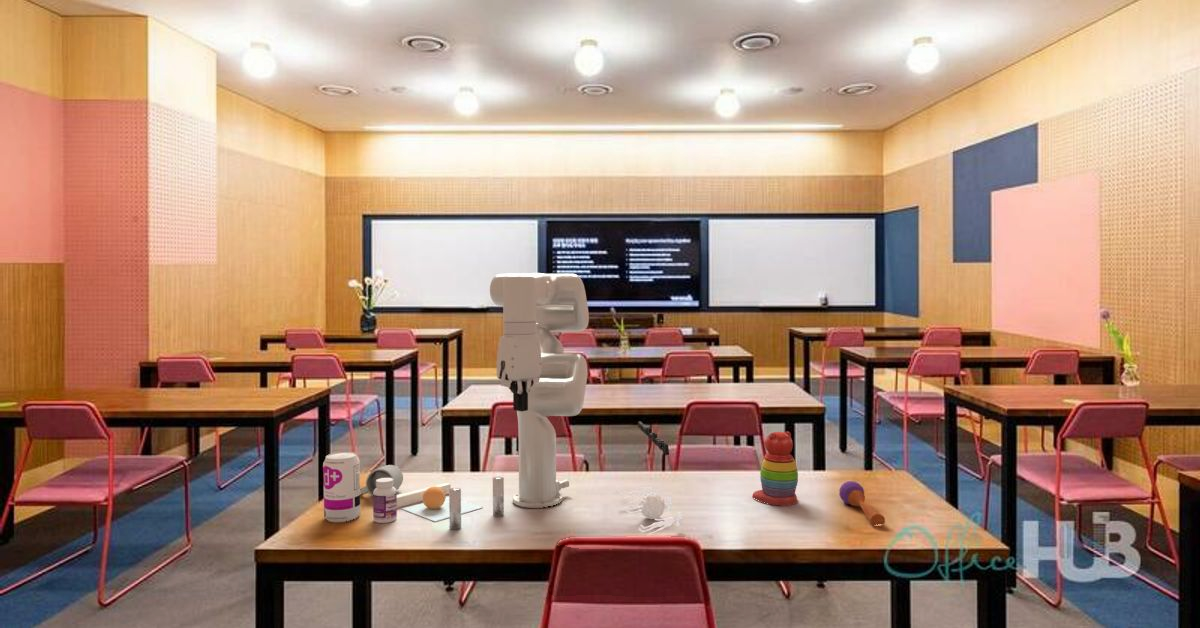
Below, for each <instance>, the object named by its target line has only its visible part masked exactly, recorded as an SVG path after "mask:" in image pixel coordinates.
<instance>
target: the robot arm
mask: <svg viewBox="0 0 1200 628" xmlns="http://www.w3.org/2000/svg"><path fill="white" fill-rule="evenodd" d="M489 292H490V293H489V294H490V299H491V300H492V302H493V303H494V305H496V306H499V307H502V309H503V311H502V312H503V313H502V315H503V316H502V317H503V318H502V319H503V321H502V323H503V325H502V326H503V327H502V328H503V329H502V331H503V335H502V336H501V335H500V337H499V342H498V345H497V346H498V347H497V358H496V378H497V379H498V380H500V386H502V387H506V388H509V391H510V393H512V397H513V398H512V399H513V400H512V404H513V405H512V406H513V410H514V411H516V415H517V424H518V425H517V427H518V429H517V430H518V493H515V494H514V495H513V496H512V503H513V504H515V505H516V506H517V507H521V508H527V509H544V508H543V507H545V508H549V507H548V506H551V507H553V505H555V506H557V505H559V504H560V502H561V501H563V495H562V494H561V493H560V491H561V490H562V489H566V488H568V487H570V481H569V480H568V479H564V480H561V481H559V480H557V433H556V430H555V427H554V426H553V424H552V423H551V421H550V420H549V419H548V417H550V416H551V417H552V416H553V417H574V416H577V415H579V414H580V413H581V411H582V410H583V406H584V400H585V394H586V388H587V380H588V364H587V363H588V362H587V360H586V358H585V356H584V355H582V354H581V353H577V352H565V351H564V346H563V344H562V342H561V341H560V340H559V339H558V338H557V336H555V335H554V334H553V333H579V332H583V331H585V330H586V329H587V327H588V326H589V322H590V318H589V317H590V316H589V315H590V314H589V307H588V301H587V295H586V289H585V285H584V282H583V280H582V279H581V277H580V276H579V275H577V274H575V273H541V272H530V273H500V274H498V273H497V274H496V275H494V277H493V278H492V279H491V281H490V284H489ZM558 503H559V504H558ZM556 504H557V505H556Z"/></svg>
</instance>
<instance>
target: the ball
mask: <svg viewBox="0 0 1200 628" xmlns="http://www.w3.org/2000/svg"><path fill="white" fill-rule="evenodd" d="M433 486H434V487H431V486H429V487H430V488H428V489H427V490H426V491H425V492H424V494H423V501H422V503H424V505H425V506H426V507H427V508H429V509H438V508H440V507H441V506H442V505H443V504H444V502H445V497H446V495H445V493H444V491H443V490H442V489H441V488H439V487H436V486H435V485H433Z"/></svg>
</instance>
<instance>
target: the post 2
mask: <svg viewBox="0 0 1200 628" xmlns="http://www.w3.org/2000/svg"><path fill="white" fill-rule="evenodd" d="M504 483H505V481H504V476H493V477H492V516H493V517H496V518H498V517H504V515H505V509H504V508H505V503H504V502H505V496H504V495H505V494H504V492H505V491H504V490H505V489H504V487H505V486H504Z"/></svg>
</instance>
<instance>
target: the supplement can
mask: <svg viewBox="0 0 1200 628" xmlns="http://www.w3.org/2000/svg"><path fill="white" fill-rule="evenodd" d="M360 462H361V461H360V458H359V456H358V454H357V453H356V452H353V451H352V452H351V451H342V452H334V453H333V452H332V453H329V454H328V455H326V456H325V459H324V461H323V463H322V472H323V473H322V474H323V476H322V477H323V481H322V482H323V518H325V520H327V521H328V522H331V523H346V521H347V522H351V521H353V519H354V520H356V519H357V518H359V516H360V515H361V492H360V489H361V471H360V469H361V467H360ZM350 520H351V521H350Z"/></svg>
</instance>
